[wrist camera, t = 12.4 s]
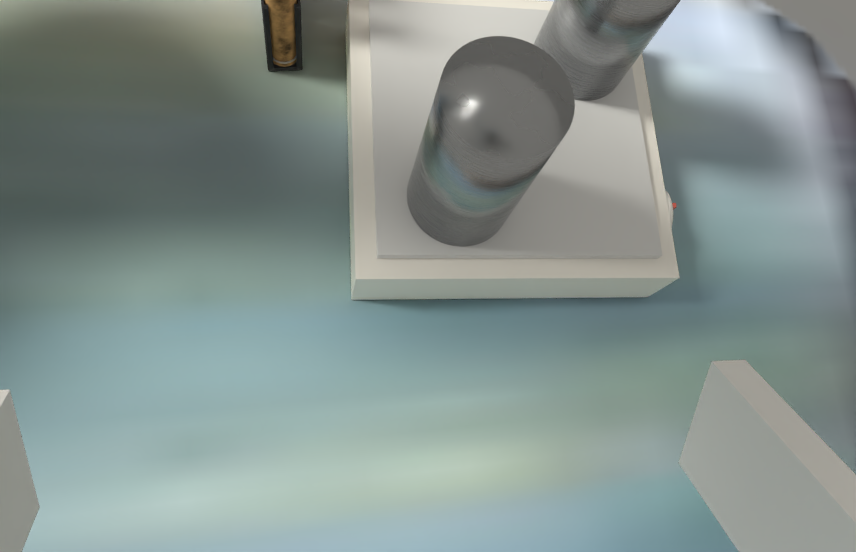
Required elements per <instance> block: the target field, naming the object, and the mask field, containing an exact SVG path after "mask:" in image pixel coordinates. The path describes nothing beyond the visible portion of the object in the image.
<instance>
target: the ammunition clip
mask: <svg viewBox="0 0 856 552" xmlns="http://www.w3.org/2000/svg"><path fill="white" fill-rule="evenodd" d="M261 4H262V14H263V24H264V34H265V44H266V54H267V64H268V71H287V70H301V69H302V41H301V5H300V0H261Z"/></svg>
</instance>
